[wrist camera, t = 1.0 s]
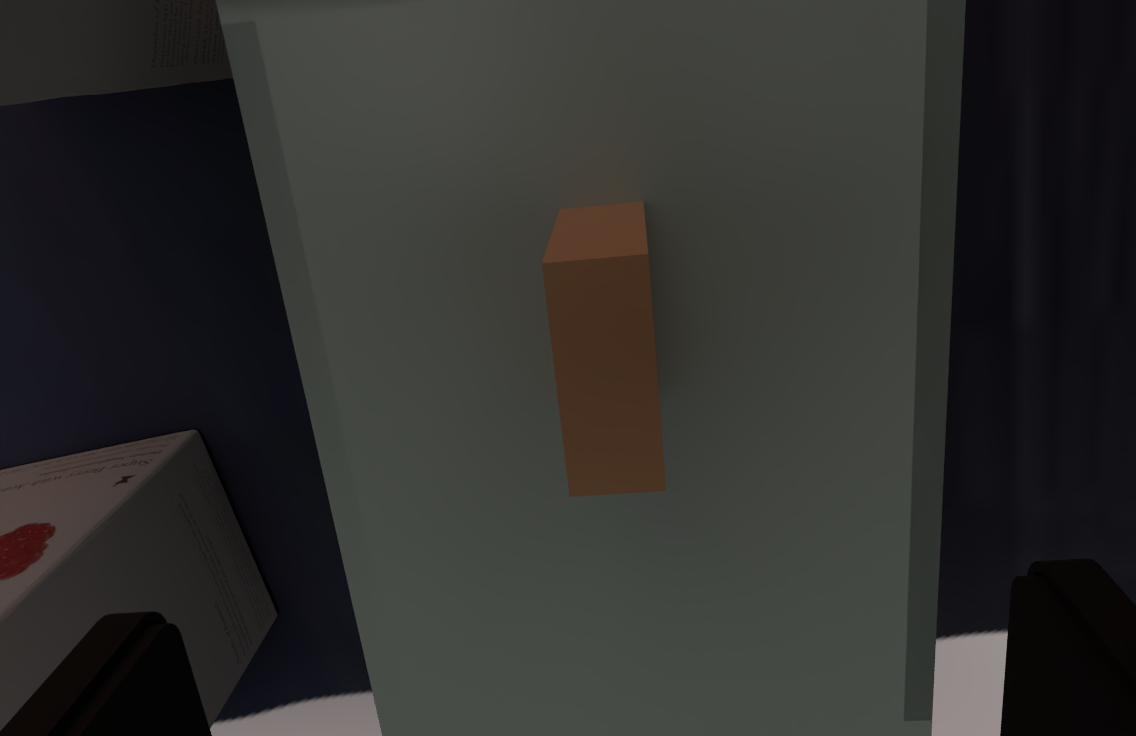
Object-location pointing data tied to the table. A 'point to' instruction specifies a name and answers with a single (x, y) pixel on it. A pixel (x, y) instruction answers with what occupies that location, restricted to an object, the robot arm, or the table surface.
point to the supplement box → (125, 562)
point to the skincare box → (106, 46)
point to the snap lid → (622, 348)
